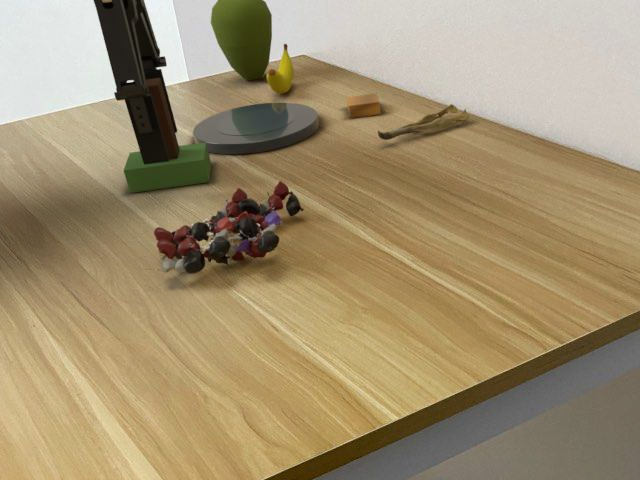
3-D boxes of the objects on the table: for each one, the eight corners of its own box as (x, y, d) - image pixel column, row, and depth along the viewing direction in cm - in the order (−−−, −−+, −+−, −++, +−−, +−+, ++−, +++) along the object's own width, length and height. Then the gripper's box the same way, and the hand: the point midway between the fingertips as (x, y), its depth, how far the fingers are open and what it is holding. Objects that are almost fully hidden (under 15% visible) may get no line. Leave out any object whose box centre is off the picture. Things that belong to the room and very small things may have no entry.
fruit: (285, 81, 119) (278, 43, 116) (298, 80, 119) (292, 42, 116) (269, 103, 112) (261, 62, 109) (283, 102, 112) (276, 61, 108)
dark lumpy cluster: (316, 266, 71) (305, 211, 69) (156, 295, 71) (138, 241, 68) (305, 221, 83) (296, 173, 81) (168, 246, 83) (154, 198, 80)
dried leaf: (384, 133, 92) (385, 151, 94) (472, 105, 97) (472, 122, 99) (364, 124, 95) (366, 141, 96) (451, 96, 100) (452, 114, 101)
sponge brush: (130, 193, 91) (99, 96, 84) (136, 174, 95) (107, 81, 89) (209, 182, 91) (185, 84, 85) (211, 164, 96) (188, 70, 89)
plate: (190, 161, 97) (187, 150, 96) (199, 121, 109) (196, 111, 108) (321, 144, 98) (320, 133, 97) (316, 105, 109) (315, 95, 108)
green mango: (213, 86, 121) (193, -5, 113) (246, 70, 126) (228, -18, 118) (260, 89, 118) (242, -5, 110) (292, 72, 123) (277, -18, 115)
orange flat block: (350, 118, 104) (348, 105, 103) (348, 109, 107) (346, 96, 106) (380, 114, 104) (379, 101, 103) (377, 105, 107) (376, 93, 106)
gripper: (113, -98, 68) (186, 176, 83) (143, -120, 84) (200, 113, 99) (24, -87, 68) (114, 186, 83) (71, -111, 83) (140, 121, 99)
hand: (161, 146), depth 91 cm, fingers open, 9 cm apart
